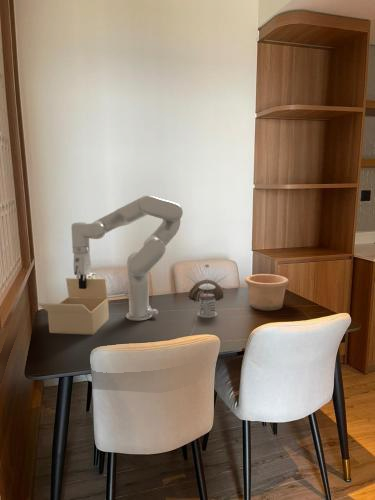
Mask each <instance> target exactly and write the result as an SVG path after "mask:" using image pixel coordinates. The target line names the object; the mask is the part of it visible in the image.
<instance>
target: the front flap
mask: <svg viewBox="0 0 375 500" xmlns="http://www.w3.org/2000/svg"><path fill="white" fill-rule="evenodd" d="M37 305H38V306H40V307H41V308H42V309H43V310H45V311H46V312H47V313H48V312H66V313H91V312H90V311H89V310H88V309H87V308H86V307H85V306H84V305H83V304H59V303H47V302H45V303H43V302H39V303H37Z"/></svg>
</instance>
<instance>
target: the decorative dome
mask: <svg viewBox="0 0 375 500" xmlns="http://www.w3.org/2000/svg"><path fill="white" fill-rule="evenodd" d="M207 283H208V284H212V285H214V286H215V289H212V290H202V289H200V288H199V286H201V285H203V284H207ZM200 291H201V292H200ZM199 292H200V293H199ZM202 292H204V293H211V294H214V295H215V296H214V297H215V301H219V300H220V299H223V298H224V291H223V288H222V287H221V286H220V284H219V283H217V282H216V281H214V280H212V279H211V280H210V279H202V280H200V281H198V282H195V284H194V285H193V287H191V289H190V290H189V299H192V300H195V301H196V302H197V301H198V302H199V298H200V294H201V293H202ZM198 293H199V294H198ZM202 294H203V293H202ZM197 296H198V298H197ZM201 300H202V301H203V299H201Z"/></svg>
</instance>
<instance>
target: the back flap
mask: <svg viewBox="0 0 375 500" xmlns="http://www.w3.org/2000/svg"><path fill="white" fill-rule="evenodd" d="M86 280H87V288H86V289H79V281H78V278H75V277H73V278H71V277H70V278H69V277H67V278H65V282H66V288H67V294H68V297H73V298H108V290H107V284H106V283H107V282H106V279H105V278H96V279H86Z"/></svg>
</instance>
